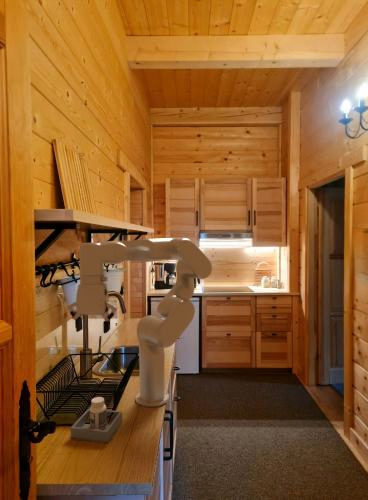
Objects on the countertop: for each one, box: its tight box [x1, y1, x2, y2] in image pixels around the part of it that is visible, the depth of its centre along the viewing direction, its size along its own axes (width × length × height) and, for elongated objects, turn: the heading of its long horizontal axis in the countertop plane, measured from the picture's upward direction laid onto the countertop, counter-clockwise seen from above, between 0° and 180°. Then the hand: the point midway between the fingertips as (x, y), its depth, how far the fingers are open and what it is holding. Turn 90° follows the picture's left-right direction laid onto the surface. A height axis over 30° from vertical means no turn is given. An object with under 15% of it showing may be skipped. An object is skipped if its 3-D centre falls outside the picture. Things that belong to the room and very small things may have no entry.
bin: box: [70, 407, 123, 444], centre depth 109 cm, size 12×12×4 cm
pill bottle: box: [89, 396, 107, 430], centre depth 110 cm, size 5×5×9 cm
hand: (92, 331), depth 114 cm, fingers open, 9 cm apart
